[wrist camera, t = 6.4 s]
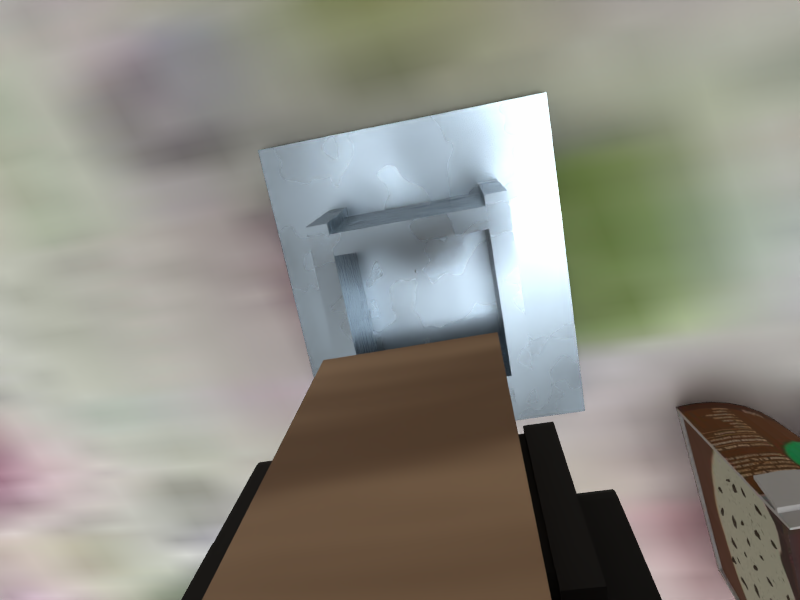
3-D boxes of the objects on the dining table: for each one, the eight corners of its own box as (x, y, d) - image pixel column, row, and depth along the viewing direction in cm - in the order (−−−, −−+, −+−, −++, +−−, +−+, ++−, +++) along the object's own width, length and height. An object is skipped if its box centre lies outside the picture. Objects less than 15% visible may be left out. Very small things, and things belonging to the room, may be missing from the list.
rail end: (323, 360, 14) (42, 916, 4) (497, 332, 13) (612, 899, 4) (361, 506, 15) (204, 1201, 5) (523, 486, 14) (660, 1220, 5)
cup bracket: (263, 149, 26) (219, 155, 21) (543, 93, 25) (568, 85, 20) (333, 437, 30) (310, 501, 25) (581, 403, 28) (610, 463, 23)
